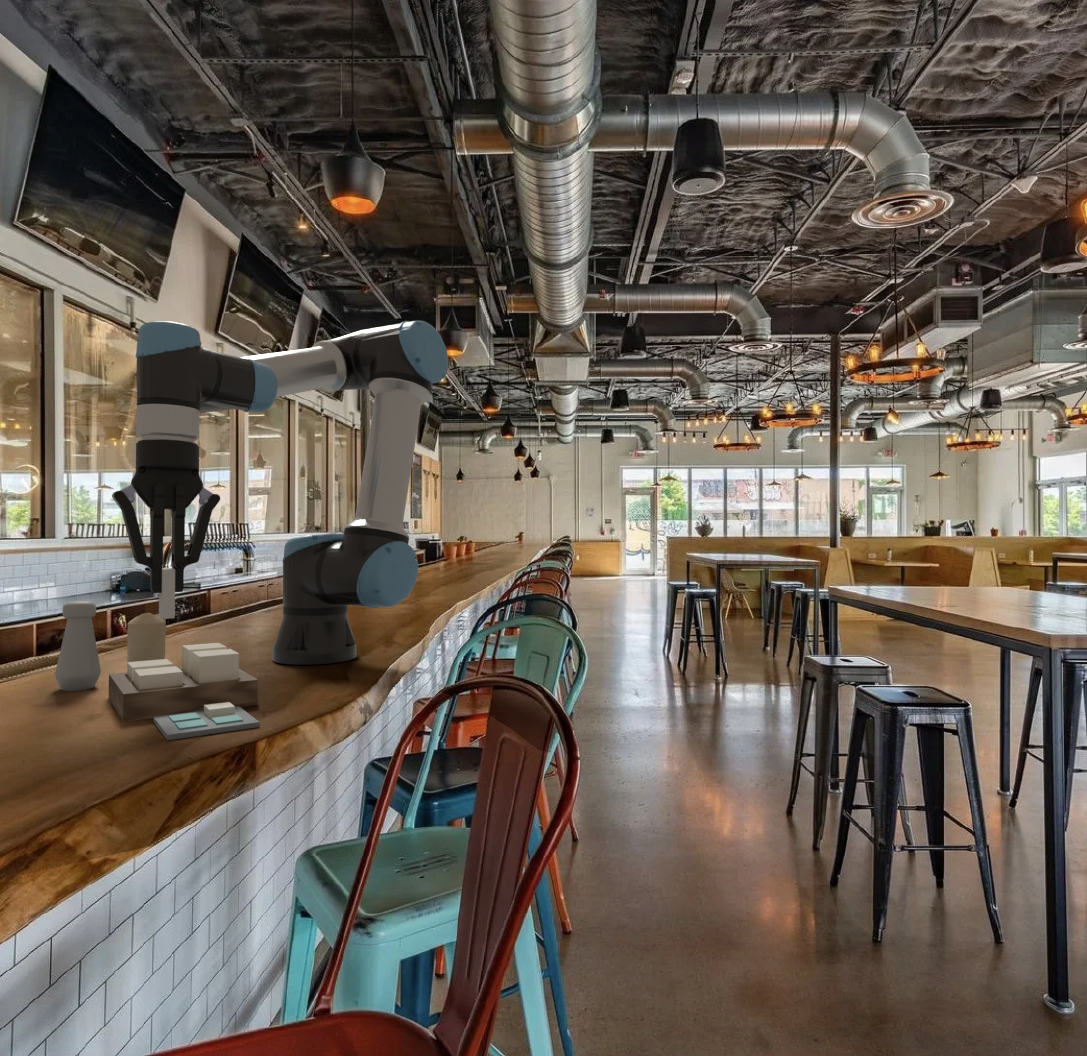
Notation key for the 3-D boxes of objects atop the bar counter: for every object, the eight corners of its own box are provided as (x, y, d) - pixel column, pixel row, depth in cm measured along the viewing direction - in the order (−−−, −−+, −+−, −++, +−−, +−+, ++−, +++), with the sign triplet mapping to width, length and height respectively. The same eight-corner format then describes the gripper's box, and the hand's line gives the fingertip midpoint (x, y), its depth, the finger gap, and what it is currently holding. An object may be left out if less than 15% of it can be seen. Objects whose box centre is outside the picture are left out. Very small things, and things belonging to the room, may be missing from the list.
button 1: (166, 684, 104) (166, 658, 104) (172, 690, 100) (173, 664, 100) (126, 688, 101) (127, 662, 101) (131, 695, 97) (132, 667, 97)
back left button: (218, 667, 108) (218, 642, 108) (226, 672, 104) (226, 646, 104) (181, 670, 105) (182, 645, 105) (188, 676, 101) (189, 649, 101)
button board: (228, 684, 111) (229, 662, 111) (257, 704, 98) (257, 679, 98) (108, 697, 101) (108, 673, 101) (123, 721, 88) (123, 694, 88)
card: (238, 710, 95) (238, 698, 95) (259, 726, 87) (259, 713, 87) (152, 721, 89) (153, 708, 89) (167, 740, 81) (167, 726, 81)
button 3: (229, 674, 102) (230, 648, 103) (238, 680, 98) (239, 653, 99) (191, 678, 99) (191, 651, 100) (199, 684, 95) (199, 656, 96)
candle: (128, 672, 120) (129, 612, 121) (165, 669, 123) (166, 611, 123) (125, 678, 115) (126, 615, 116) (163, 675, 118) (164, 614, 118)
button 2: (175, 693, 98) (175, 666, 98) (182, 699, 94) (182, 671, 94) (133, 697, 95) (134, 669, 95) (139, 704, 91) (139, 675, 91)
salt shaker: (46, 689, 106) (47, 601, 106) (86, 682, 111) (87, 599, 112) (68, 693, 104) (70, 604, 104) (108, 686, 109) (110, 601, 109)
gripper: (214, 447, 103) (213, 611, 102) (108, 439, 95) (106, 617, 95) (226, 442, 97) (225, 617, 96) (114, 433, 89) (113, 623, 89)
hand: (166, 617), depth 96 cm, fingers closed
